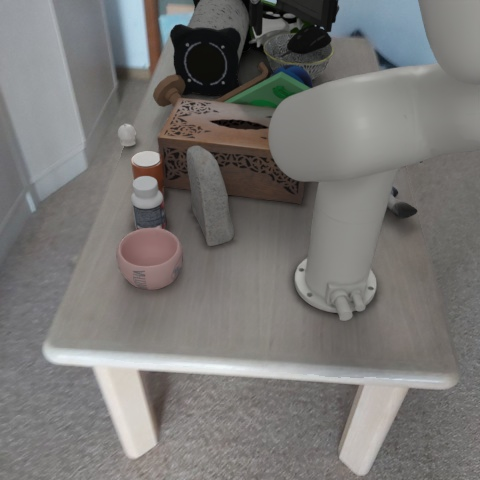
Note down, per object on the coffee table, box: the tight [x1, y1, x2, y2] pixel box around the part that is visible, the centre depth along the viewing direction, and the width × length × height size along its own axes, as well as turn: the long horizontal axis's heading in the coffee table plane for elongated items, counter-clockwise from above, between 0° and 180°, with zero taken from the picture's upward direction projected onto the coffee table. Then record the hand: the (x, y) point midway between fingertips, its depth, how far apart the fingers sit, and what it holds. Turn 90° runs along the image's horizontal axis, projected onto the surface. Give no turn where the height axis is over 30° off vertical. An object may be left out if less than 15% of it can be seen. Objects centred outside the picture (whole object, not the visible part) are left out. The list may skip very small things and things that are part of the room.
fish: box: [387, 186, 418, 219], centre depth 102 cm, size 23×4×10 cm
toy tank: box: [250, 0, 316, 53], centre depth 142 cm, size 9×25×10 cm
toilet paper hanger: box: [152, 61, 269, 108], centre depth 121 cm, size 25×9×8 cm, turn 127°
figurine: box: [249, 18, 304, 47], centre depth 133 cm, size 8×15×12 cm
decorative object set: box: [117, 122, 138, 147], centre depth 113 cm, size 5×20×4 cm, turn 99°
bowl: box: [263, 33, 335, 81], centre depth 130 cm, size 16×16×8 cm
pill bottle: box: [130, 176, 167, 231], centre depth 92 cm, size 5×5×9 cm
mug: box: [116, 226, 184, 291], centre depth 86 cm, size 12×10×6 cm
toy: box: [225, 71, 310, 108], centre depth 105 cm, size 22×3×10 cm
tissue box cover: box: [157, 97, 307, 205], centre depth 103 cm, size 26×14×10 cm, turn 79°
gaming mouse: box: [281, 25, 332, 57], centre depth 125 cm, size 6×15×4 cm, turn 133°
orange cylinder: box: [130, 150, 165, 199], centre depth 99 cm, size 5×5×8 cm
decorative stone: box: [187, 146, 235, 247], centre depth 91 cm, size 11×6×15 cm, turn 21°
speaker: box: [169, 0, 253, 97], centre depth 129 cm, size 15×29×15 cm, turn 173°
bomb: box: [270, 65, 314, 88], centre depth 121 cm, size 10×11×15 cm
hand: (291, 30), depth 77 cm, fingers open, 9 cm apart
